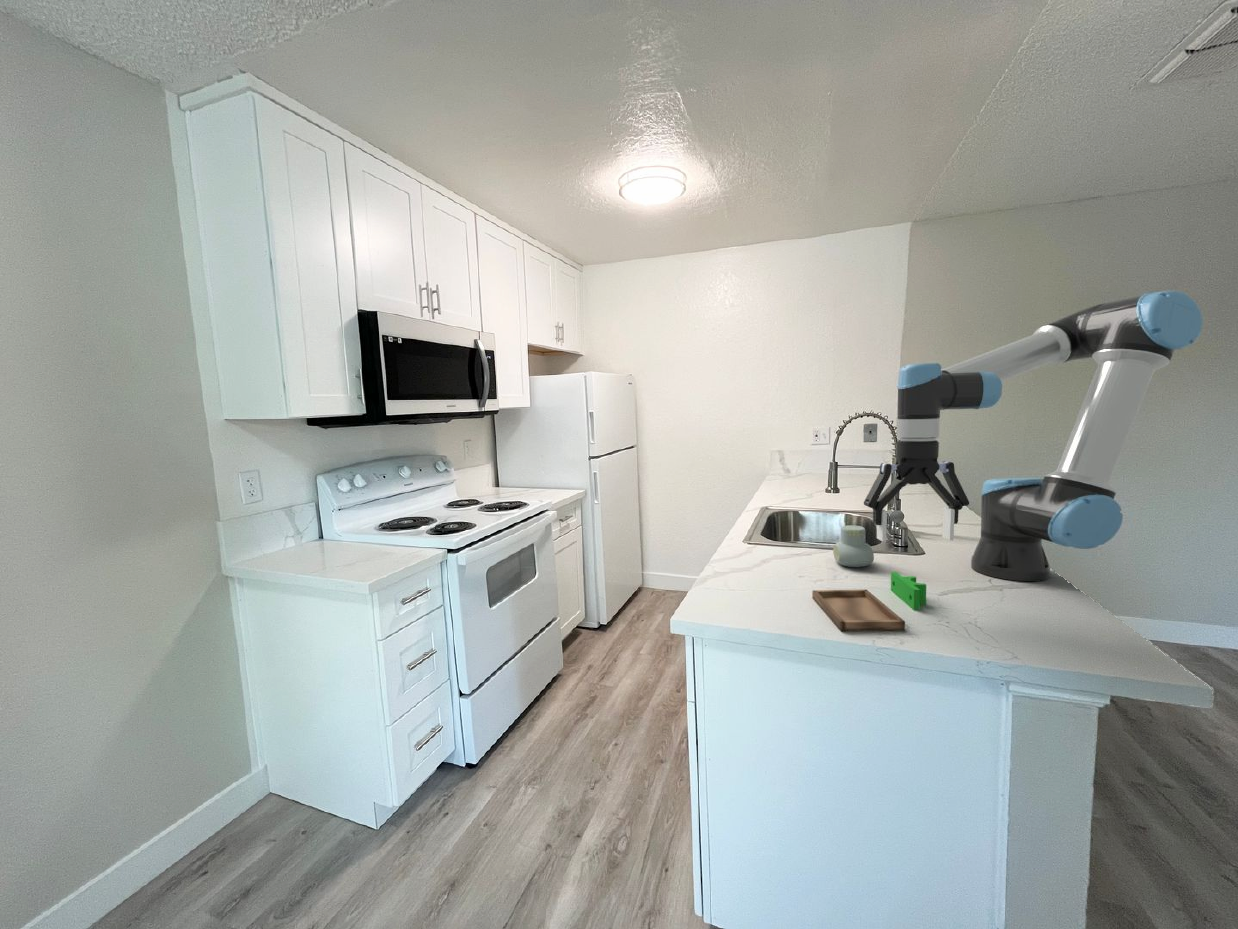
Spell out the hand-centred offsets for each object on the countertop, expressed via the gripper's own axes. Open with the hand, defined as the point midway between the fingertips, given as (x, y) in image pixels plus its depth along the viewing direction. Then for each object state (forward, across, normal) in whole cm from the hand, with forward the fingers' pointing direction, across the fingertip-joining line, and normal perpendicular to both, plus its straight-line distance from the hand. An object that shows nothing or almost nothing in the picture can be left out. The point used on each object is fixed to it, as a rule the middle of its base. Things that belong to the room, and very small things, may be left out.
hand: (914, 539), depth 105 cm
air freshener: (+14, +3, -25) cm, 29 cm away
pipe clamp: (+14, 0, 0) cm, 14 cm away
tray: (+13, +15, +6) cm, 21 cm away
